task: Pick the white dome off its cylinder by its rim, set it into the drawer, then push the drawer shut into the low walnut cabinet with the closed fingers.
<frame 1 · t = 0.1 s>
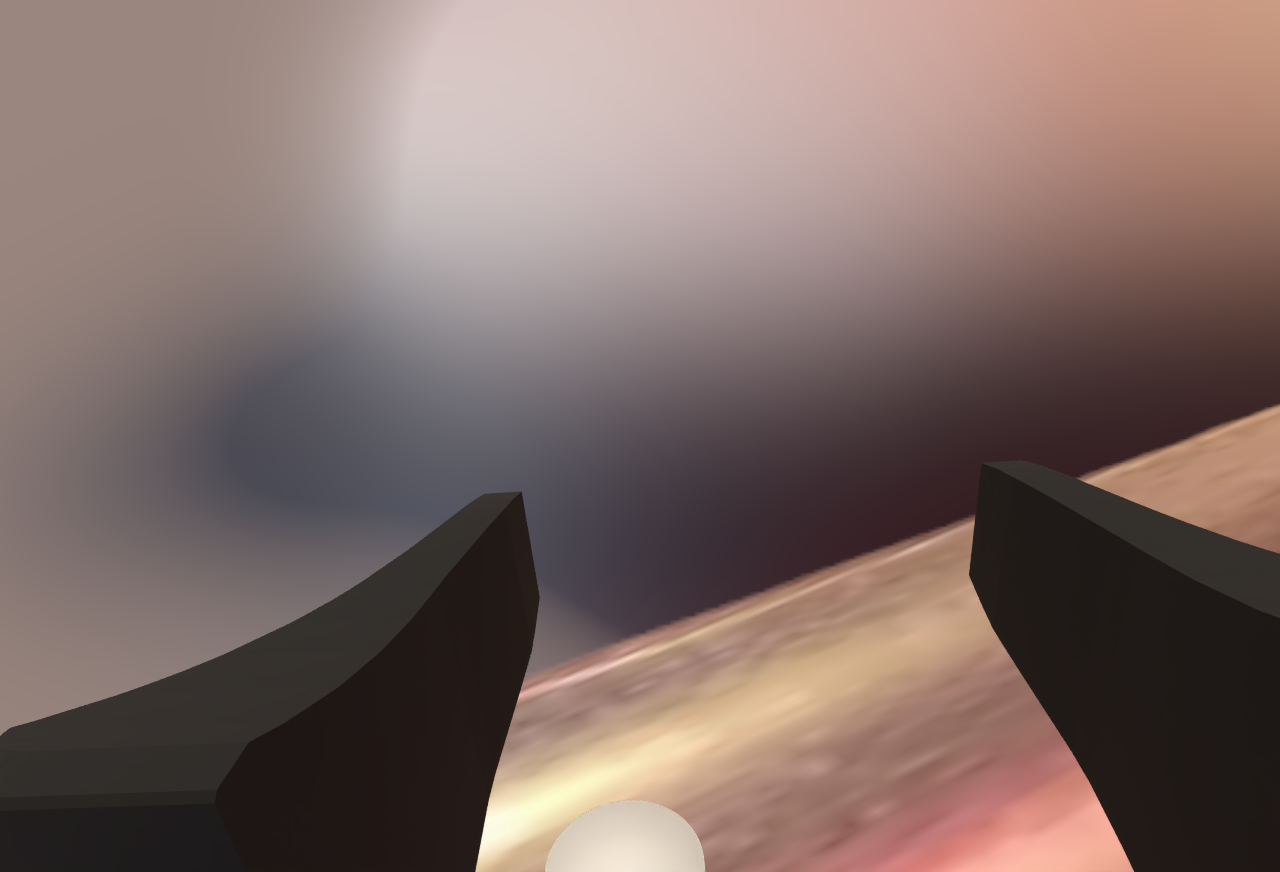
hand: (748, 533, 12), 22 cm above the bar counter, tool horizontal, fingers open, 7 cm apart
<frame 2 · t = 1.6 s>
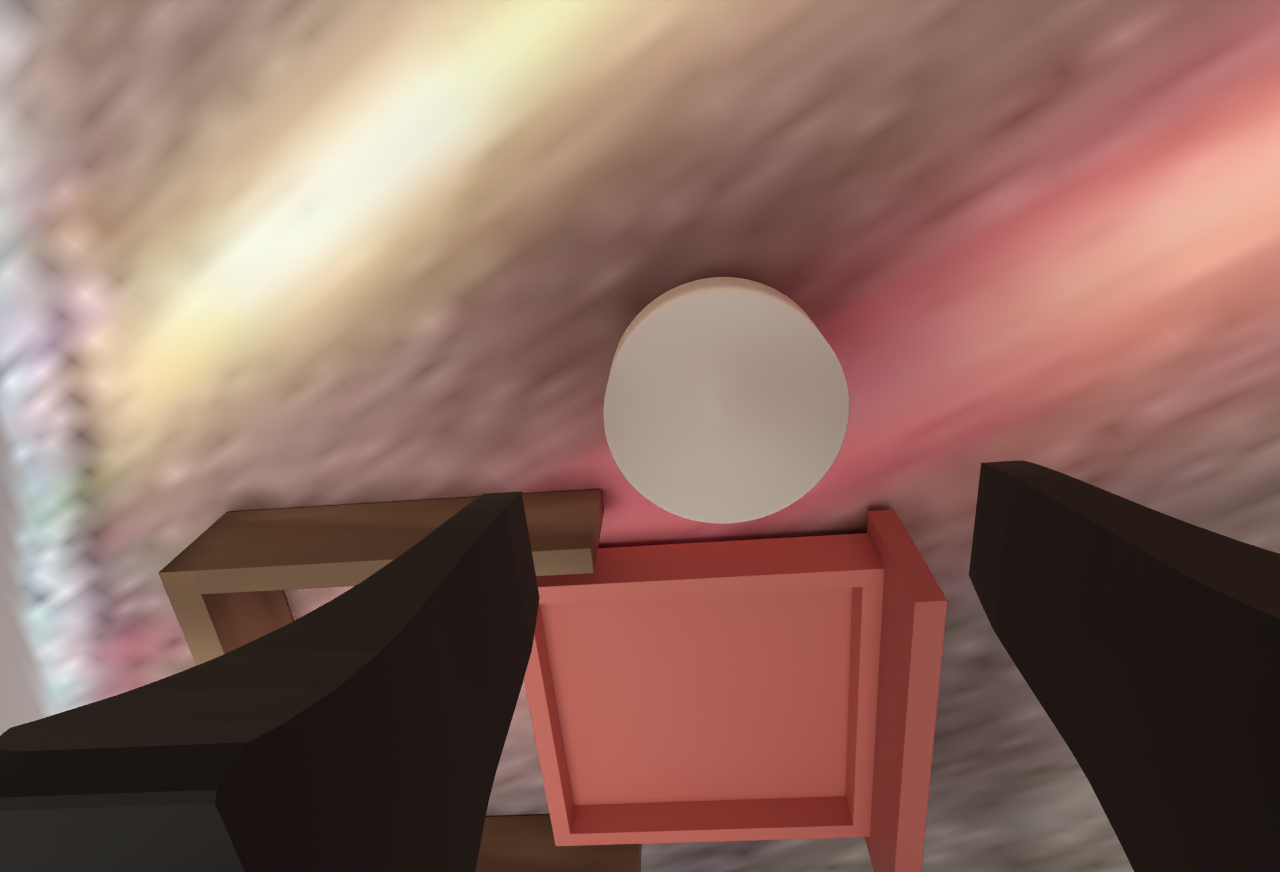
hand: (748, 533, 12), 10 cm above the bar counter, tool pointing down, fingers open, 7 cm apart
white dome: (719, 387, 18), point 3 cm above the bar counter, touching cylinder
drawer: (715, 730, 23), point 3 cm above the bar counter, slide at 8.0 cm
cabinet: (478, 683, 26), on the bar counter
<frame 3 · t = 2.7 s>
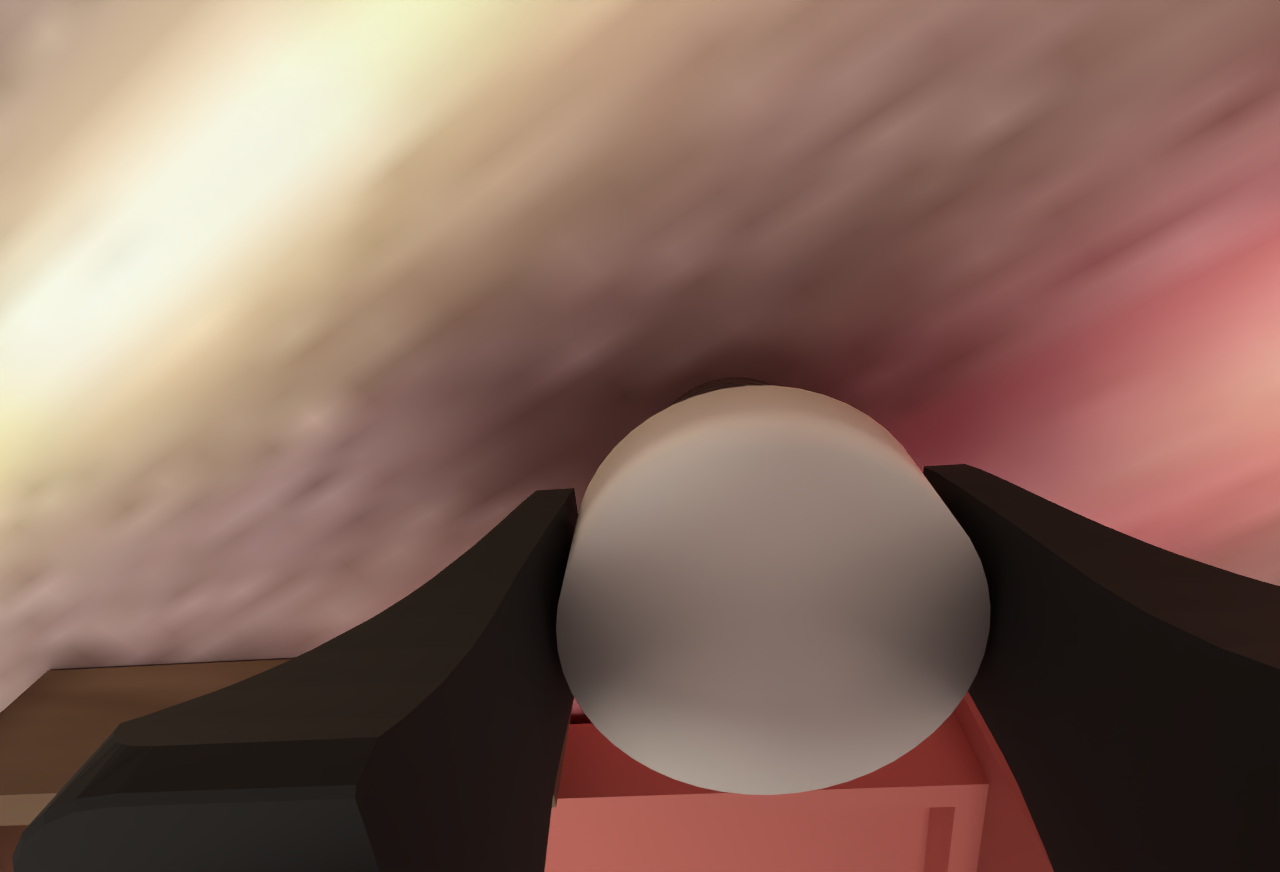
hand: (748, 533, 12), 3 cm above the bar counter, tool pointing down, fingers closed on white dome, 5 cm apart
white dome: (752, 553, 11), point 3 cm above the bar counter, touching gripper, cylinder
cylinder: (732, 455, 14), on the bar counter
when the fingers open (3 cm above the bar counter, at t = 7.4 s): white dome drops 3 cm, resting on drawer.
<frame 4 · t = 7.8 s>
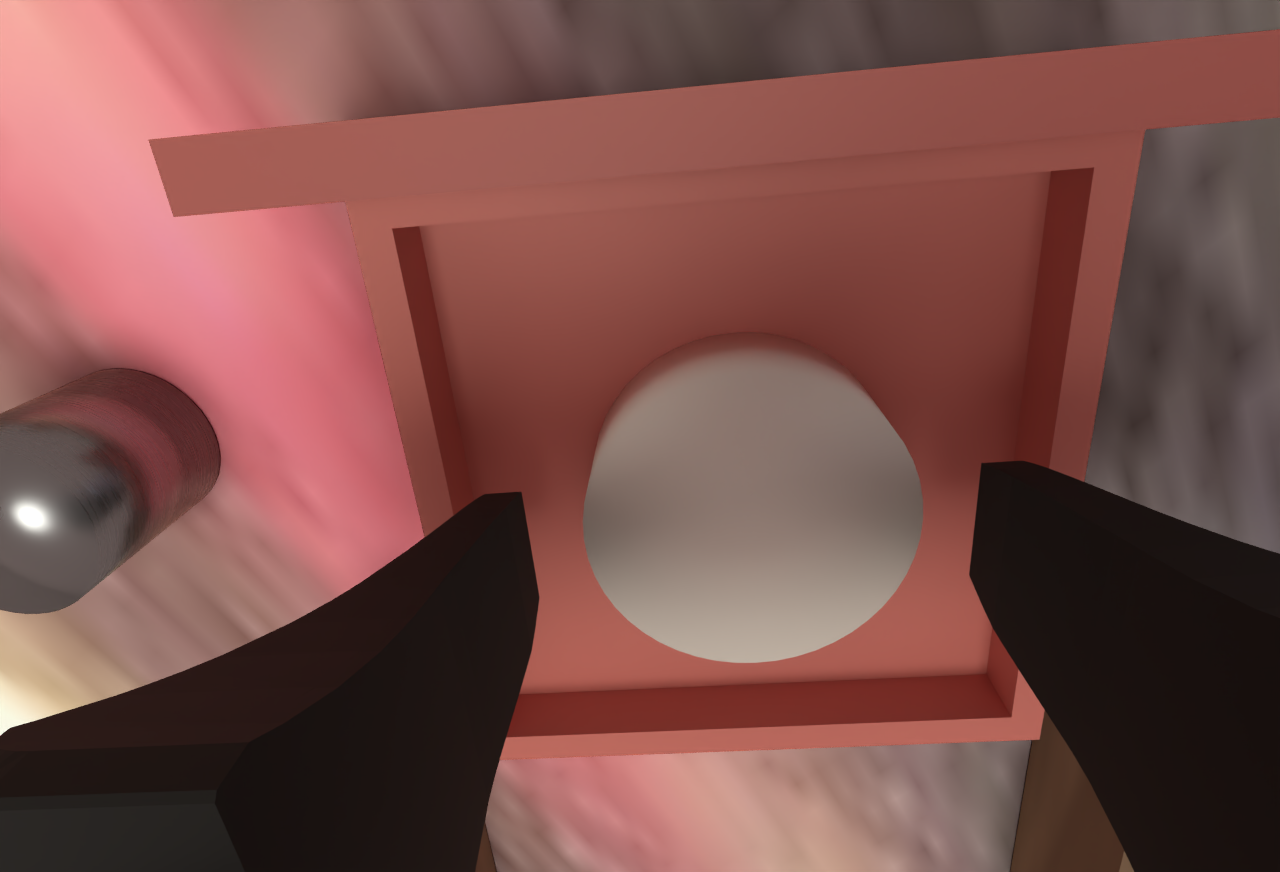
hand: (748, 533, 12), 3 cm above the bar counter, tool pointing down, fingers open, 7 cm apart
white dome: (739, 473, 13), point 1 cm above the bar counter, touching drawer
drawer: (744, 494, 12), point 3 cm above the bar counter, slide at 8.0 cm, touching white dome
cabinet: (743, 748, 18), on the bar counter
cylinder: (141, 443, 15), on the bar counter
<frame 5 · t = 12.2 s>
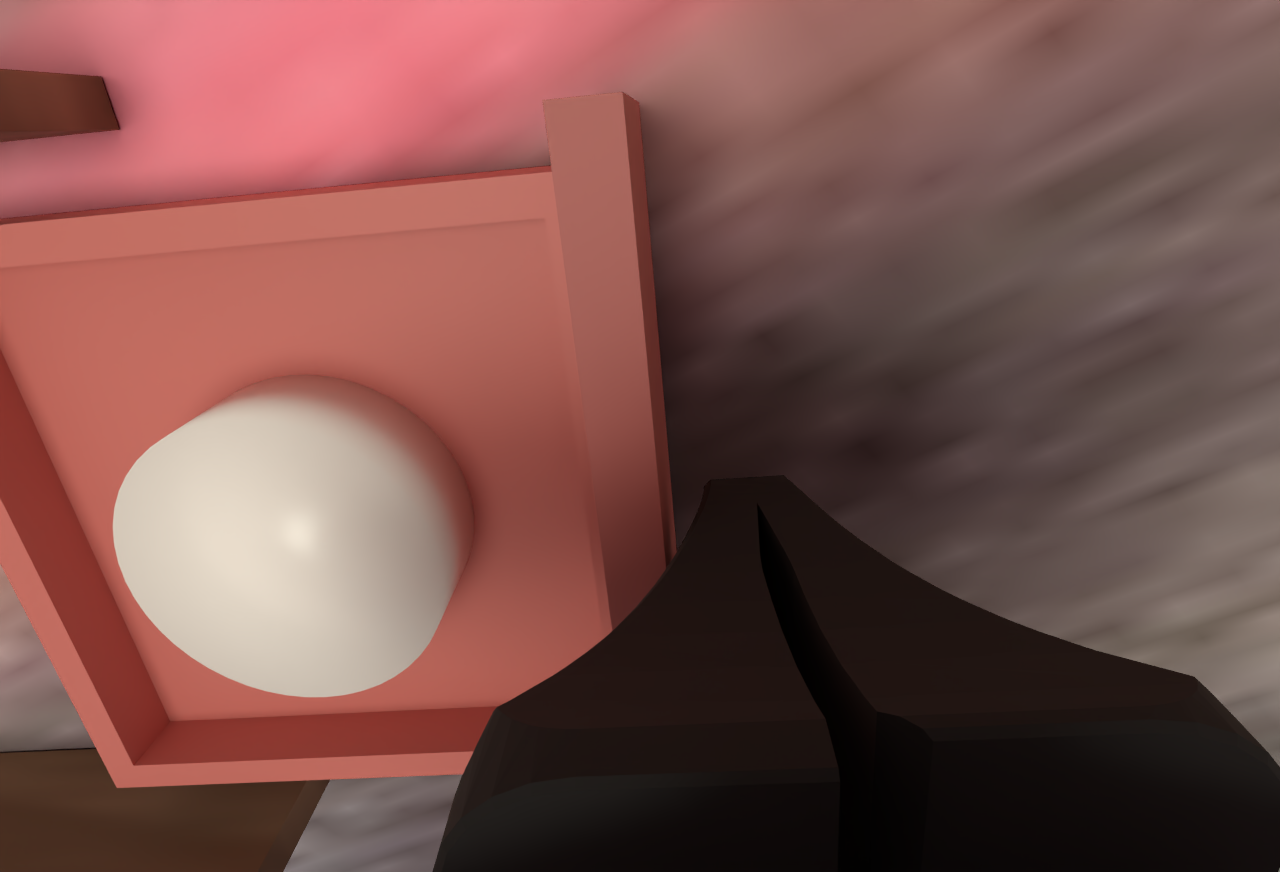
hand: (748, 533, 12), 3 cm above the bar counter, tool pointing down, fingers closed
white dome: (332, 509, 14), point 1 cm above the bar counter, touching drawer
drawer: (314, 551, 12), point 3 cm above the bar counter, slide at 7.6 cm, touching white dome, gripper
cabinet: (1, 505, 15), on the bar counter
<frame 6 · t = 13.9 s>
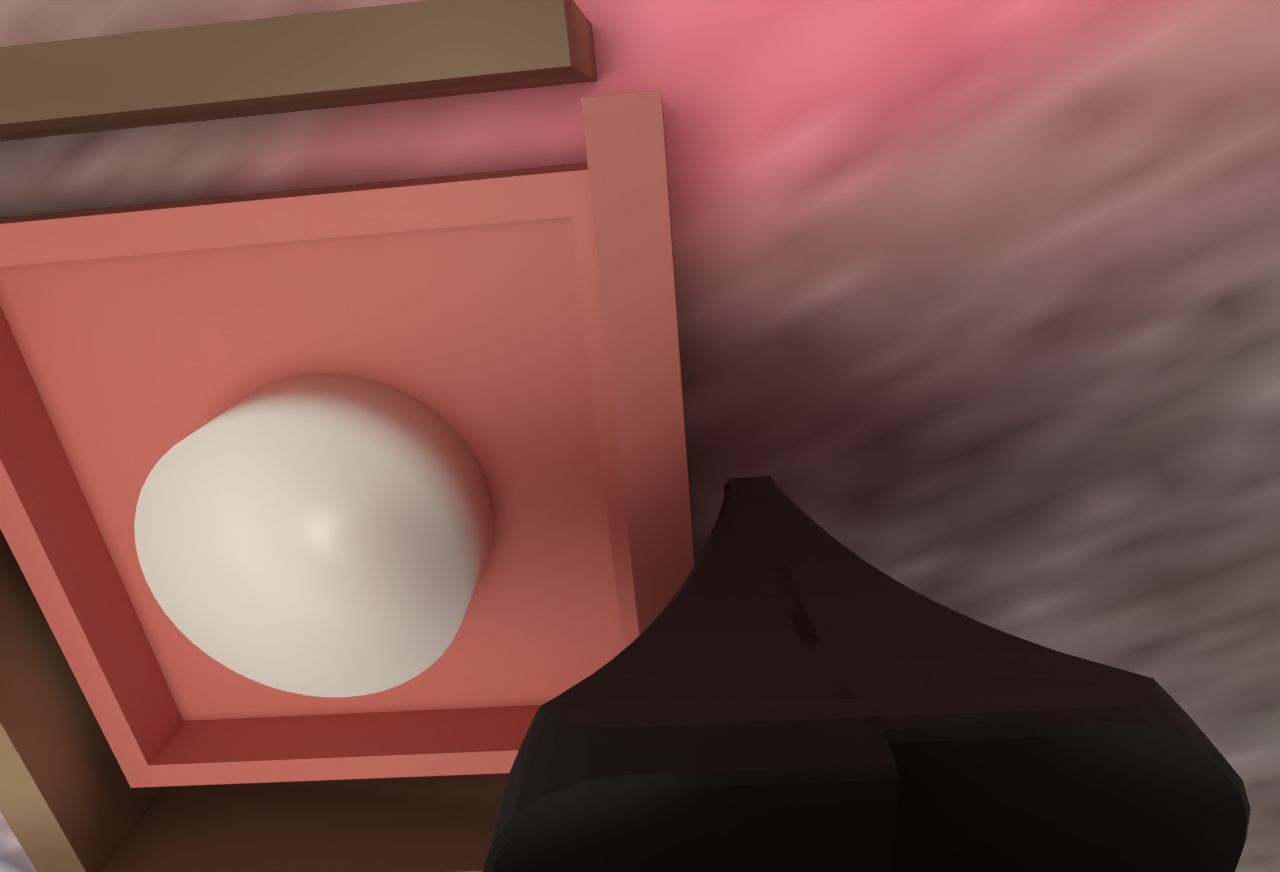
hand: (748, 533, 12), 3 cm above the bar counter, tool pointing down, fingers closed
white dome: (351, 509, 14), point 1 cm above the bar counter, touching drawer
drawer: (334, 550, 12), point 3 cm above the bar counter, slide at -0.1 cm, touching white dome, gripper
cabinet: (374, 480, 15), on the bar counter
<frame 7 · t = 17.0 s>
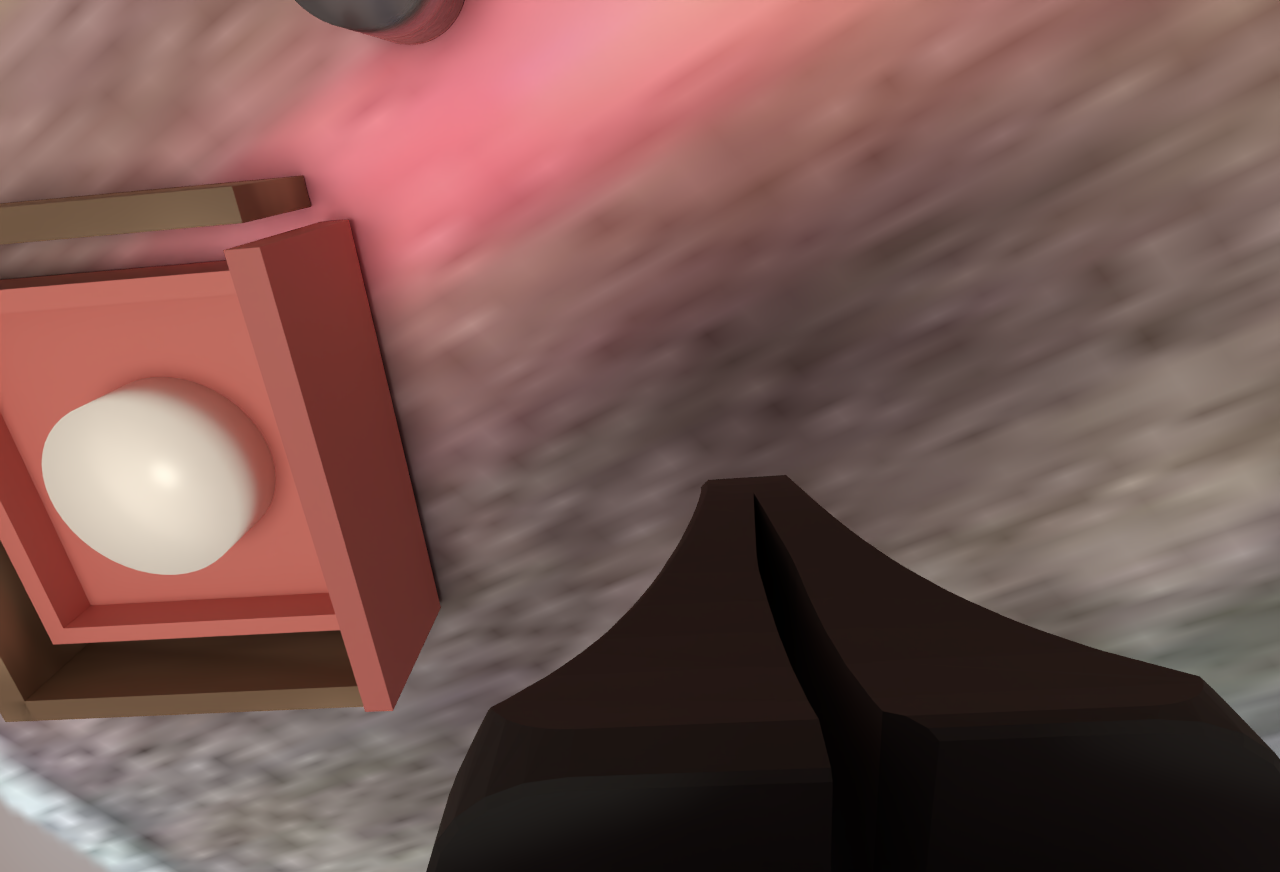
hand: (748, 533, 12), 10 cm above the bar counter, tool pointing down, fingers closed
white dome: (185, 461, 22), point 1 cm above the bar counter, touching drawer
drawer: (164, 483, 20), point 3 cm above the bar counter, slide at 0.0 cm, touching white dome
cabinet: (205, 445, 23), on the bar counter
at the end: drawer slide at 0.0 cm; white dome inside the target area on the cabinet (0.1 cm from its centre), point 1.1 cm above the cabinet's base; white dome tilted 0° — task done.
